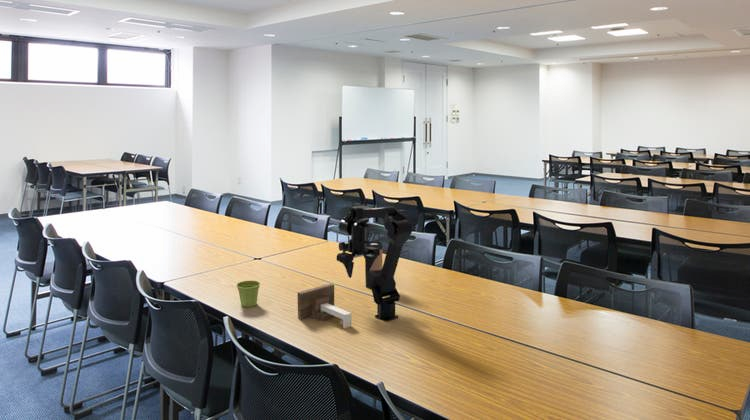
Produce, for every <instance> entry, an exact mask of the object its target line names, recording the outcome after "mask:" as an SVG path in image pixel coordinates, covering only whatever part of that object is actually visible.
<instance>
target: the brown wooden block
mask: <svg viewBox="0 0 750 420" xmlns="http://www.w3.org/2000/svg"><path fill="white" fill-rule="evenodd" d="M325 303H328V304H330V305H333V306H335V284H333V283H328V284H324V285H320V286H317V287H316V286H315V287H312V288H308V289H305V290H301V291H299V292H297V319H298V320H299V319H300V320H304V319H306V318H310V317H313V318H315V319H316V320H318V321H322V322H323V321H326V320H330V319H333V318H335V317H336V316H334V315H331V314H329V313H326V312H323V313H322V312H321V305H322V304H325Z"/></svg>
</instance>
